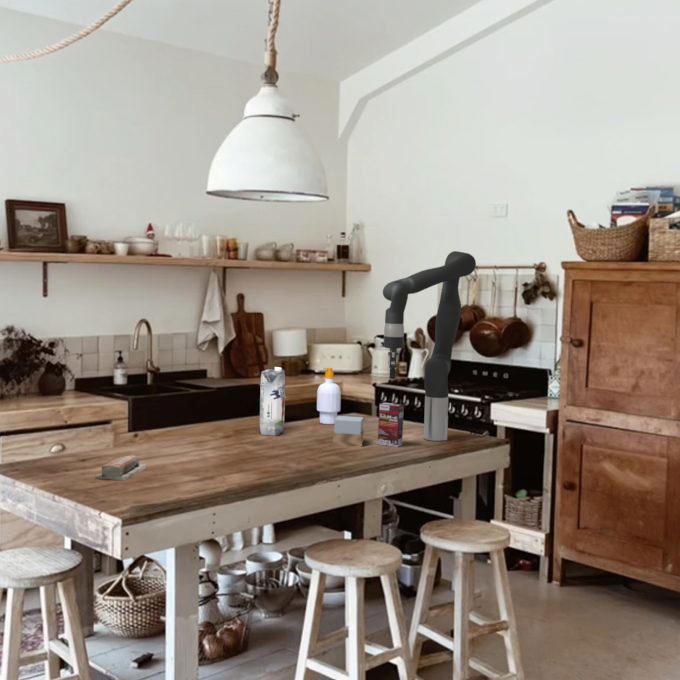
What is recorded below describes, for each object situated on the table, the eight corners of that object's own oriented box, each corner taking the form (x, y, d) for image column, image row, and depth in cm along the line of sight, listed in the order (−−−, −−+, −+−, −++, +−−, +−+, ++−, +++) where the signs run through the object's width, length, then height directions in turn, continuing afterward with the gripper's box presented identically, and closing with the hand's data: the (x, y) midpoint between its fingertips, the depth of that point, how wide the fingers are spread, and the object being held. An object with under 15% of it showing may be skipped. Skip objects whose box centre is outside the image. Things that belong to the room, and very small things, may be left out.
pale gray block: (362, 429, 342) (363, 417, 341) (360, 434, 332) (360, 421, 332) (337, 428, 343) (337, 415, 343) (334, 433, 333) (334, 419, 333)
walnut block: (363, 442, 343) (363, 429, 343) (361, 447, 332) (362, 434, 332) (334, 441, 344) (335, 428, 343) (332, 446, 333) (333, 433, 332)
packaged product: (125, 466, 269) (95, 464, 271) (125, 481, 270) (95, 480, 271) (147, 454, 287) (117, 453, 288) (146, 469, 287) (117, 467, 289)
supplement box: (377, 444, 337) (378, 403, 335) (382, 442, 341) (383, 402, 340) (397, 447, 333) (399, 405, 331) (402, 445, 337) (404, 404, 336)
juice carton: (258, 435, 349) (259, 367, 347) (263, 430, 360) (265, 365, 358) (280, 436, 348) (281, 368, 346) (285, 431, 359) (286, 366, 357)
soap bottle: (311, 422, 383) (313, 367, 381) (330, 420, 389) (331, 366, 388) (326, 426, 375) (327, 369, 373) (344, 424, 381) (346, 368, 380)
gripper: (404, 337, 326) (402, 380, 328) (403, 334, 341) (402, 375, 342) (383, 336, 327) (382, 379, 328) (384, 333, 341) (382, 375, 342)
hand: (392, 377), depth 335 cm, fingers open, 8 cm apart
